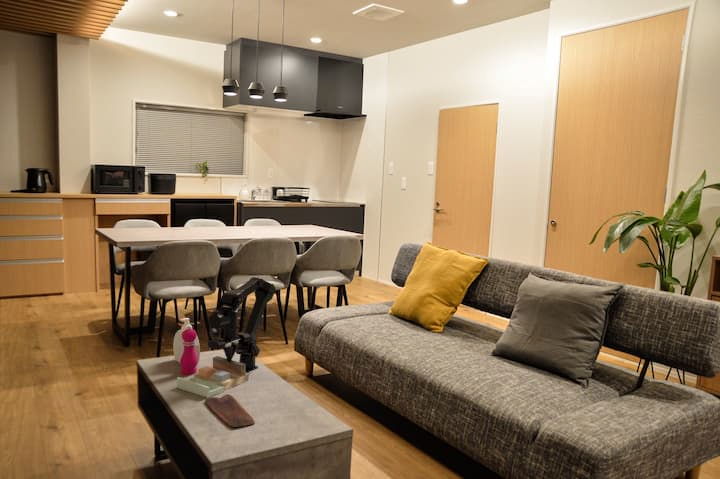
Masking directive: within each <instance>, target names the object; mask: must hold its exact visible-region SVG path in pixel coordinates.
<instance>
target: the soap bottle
mask: <svg viewBox="0 0 720 479" xmlns="http://www.w3.org/2000/svg"><path fill="white" fill-rule="evenodd" d="M179 321H180V322H184V323H183V325H181V328H180V329H179V330H177V331H176V333H175V334H174V338H173V342H172V343H173V344H172V345H173V346H172V348H173V355H174V361H175V362H178V363H179V364H180V359H181V357H182V355H183V352H184V345H183V341H184V340H183V339H182V333H183V331H184V330H186V329H187V327H188V326H191V327H192V328H191V329H193V326H192V325H191V324H190V318H189V317H183V318H180V319H179ZM194 351H195V354H196V356H197V359H198V364H199V363H200V362H199V361H200V357H201V347H200V340H199V337H198V336H197V337H196V339H195V345H194ZM198 364H197V365H196V366H198Z"/></svg>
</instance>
